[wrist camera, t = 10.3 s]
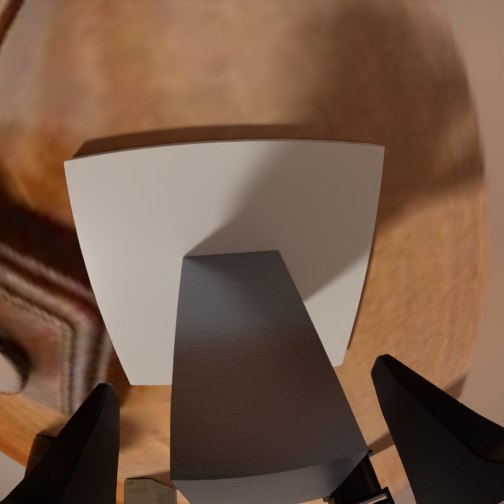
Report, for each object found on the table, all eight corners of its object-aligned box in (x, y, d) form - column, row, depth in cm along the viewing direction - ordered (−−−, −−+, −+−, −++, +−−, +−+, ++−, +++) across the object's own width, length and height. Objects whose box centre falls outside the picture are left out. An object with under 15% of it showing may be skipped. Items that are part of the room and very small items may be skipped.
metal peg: (278, 249, 13) (369, 450, 5) (274, 321, 14) (329, 496, 7) (182, 256, 12) (170, 480, 4) (193, 329, 14) (200, 514, 6)
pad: (375, 143, 12) (384, 147, 11) (337, 356, 18) (341, 365, 17) (71, 157, 10) (63, 161, 9) (132, 375, 16) (131, 385, 16)
